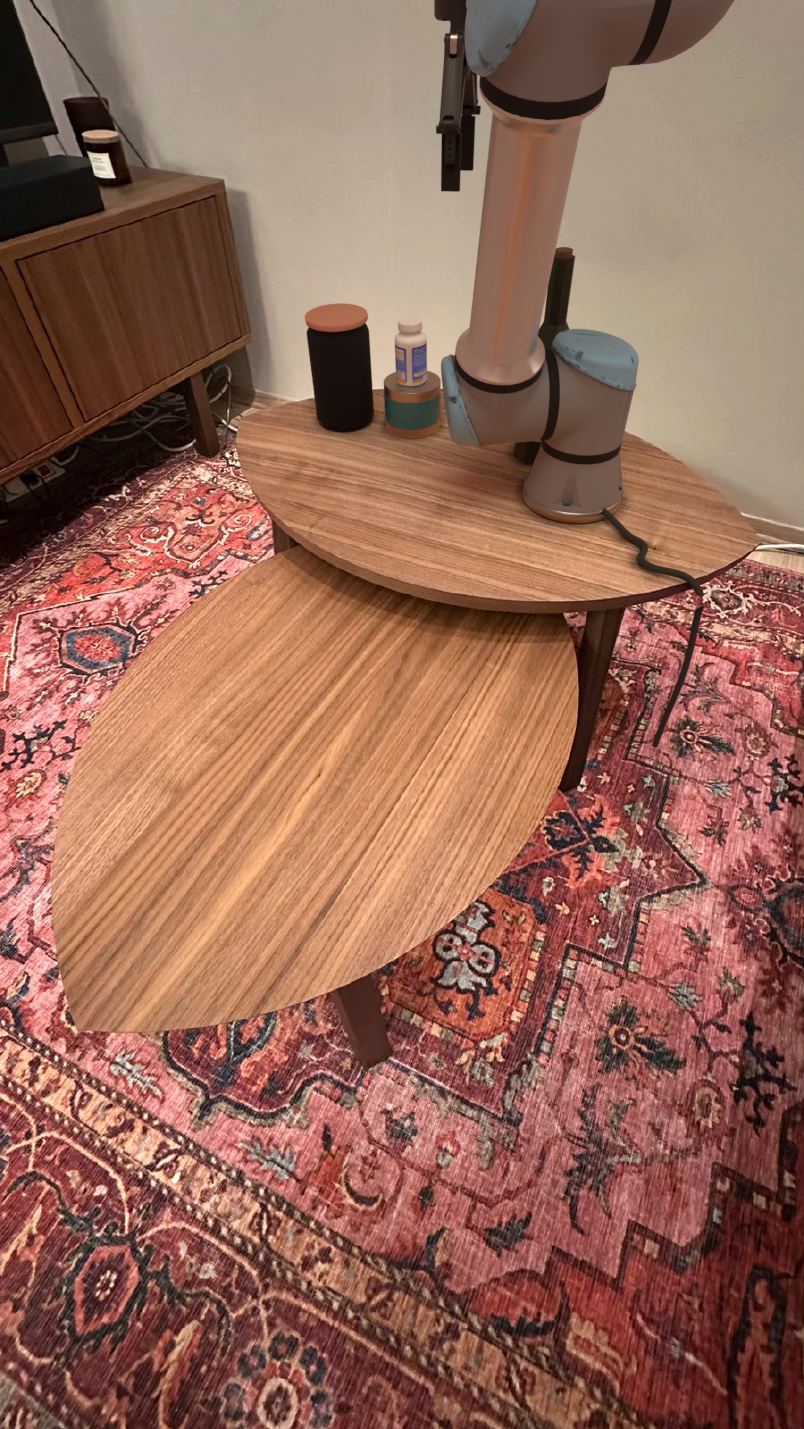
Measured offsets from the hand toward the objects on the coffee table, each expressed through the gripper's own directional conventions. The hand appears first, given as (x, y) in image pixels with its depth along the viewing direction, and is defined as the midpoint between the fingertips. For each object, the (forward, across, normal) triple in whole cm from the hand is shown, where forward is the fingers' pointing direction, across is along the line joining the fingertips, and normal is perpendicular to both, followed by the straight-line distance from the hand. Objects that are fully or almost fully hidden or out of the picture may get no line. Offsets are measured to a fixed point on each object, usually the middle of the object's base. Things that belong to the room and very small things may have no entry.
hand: (457, 180), depth 105 cm
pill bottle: (+27, +9, -6) cm, 29 cm away
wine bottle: (+35, +16, +18) cm, 42 cm away
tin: (+34, +9, -6) cm, 36 cm away
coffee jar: (+35, +9, -18) cm, 40 cm away
